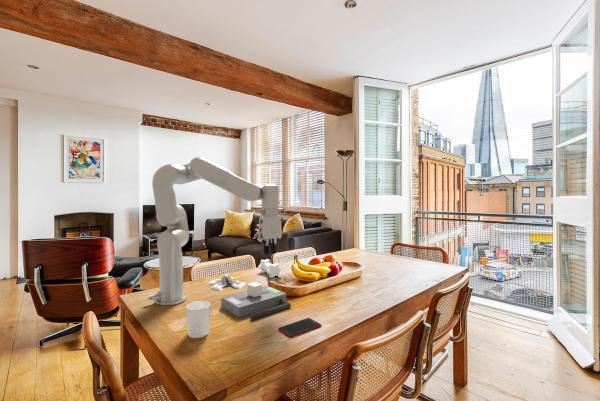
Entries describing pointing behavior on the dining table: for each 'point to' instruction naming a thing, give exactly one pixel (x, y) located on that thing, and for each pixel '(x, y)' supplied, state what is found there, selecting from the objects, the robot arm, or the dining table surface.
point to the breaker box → (252, 301)
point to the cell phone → (299, 327)
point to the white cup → (198, 318)
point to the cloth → (226, 283)
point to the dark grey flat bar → (271, 310)
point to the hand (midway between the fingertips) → (269, 253)
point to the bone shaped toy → (269, 268)
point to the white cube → (254, 289)
